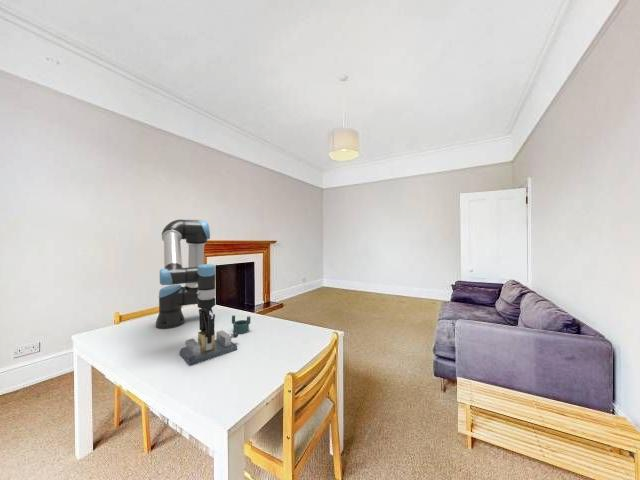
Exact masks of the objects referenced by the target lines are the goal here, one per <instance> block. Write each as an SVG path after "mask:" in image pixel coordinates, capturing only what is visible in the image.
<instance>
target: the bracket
mask: <svg viewBox="0 0 640 480" xmlns="http://www.w3.org/2000/svg"><path fill="white" fill-rule="evenodd" d="M231 324H232V325H233V328H232V329H233V331H232V332H233V333H235V332H237V333H238V335H244V334H247V333H248V332H250V331H249V330H250V329H249V325H250V324H251V316H250V315H249V316H247V317H246V319H241V320H236V315H234V314H233V315H231ZM233 333H232V334H233Z"/></svg>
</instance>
